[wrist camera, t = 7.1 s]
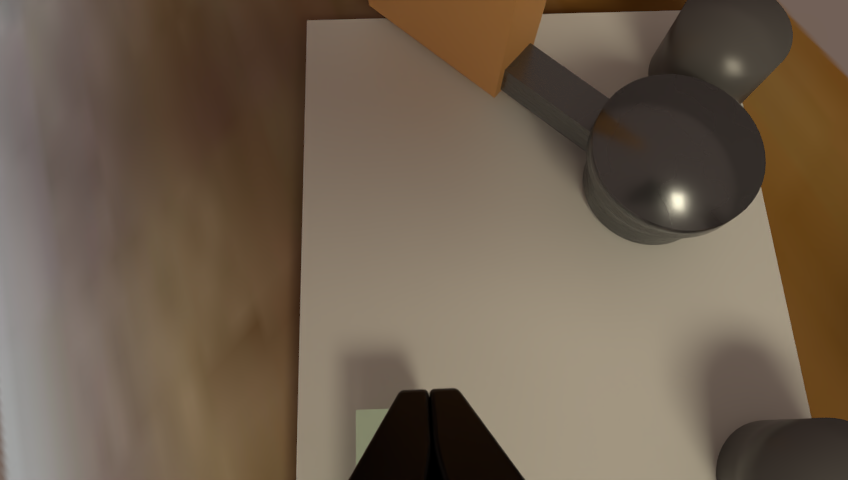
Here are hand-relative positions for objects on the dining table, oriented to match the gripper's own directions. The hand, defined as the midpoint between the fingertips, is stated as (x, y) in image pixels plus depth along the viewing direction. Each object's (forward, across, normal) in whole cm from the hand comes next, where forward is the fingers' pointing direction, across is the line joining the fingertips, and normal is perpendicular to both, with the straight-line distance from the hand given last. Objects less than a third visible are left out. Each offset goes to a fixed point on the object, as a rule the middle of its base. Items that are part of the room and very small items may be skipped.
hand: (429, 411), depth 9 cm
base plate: (+11, -4, +6) cm, 13 cm away
